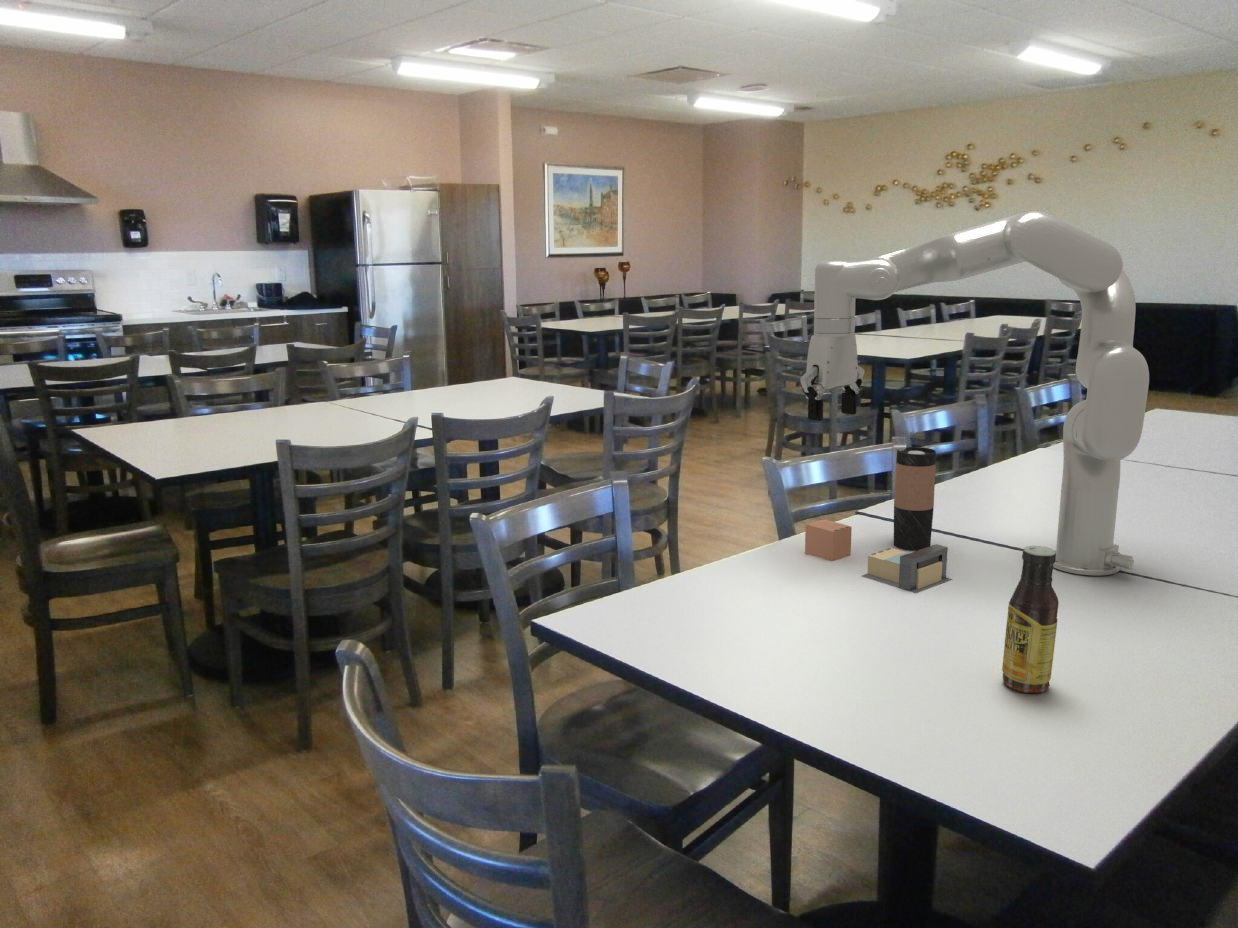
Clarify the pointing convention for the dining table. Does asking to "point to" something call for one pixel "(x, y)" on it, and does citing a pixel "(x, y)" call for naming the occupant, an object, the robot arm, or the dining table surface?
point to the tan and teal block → (889, 564)
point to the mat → (898, 583)
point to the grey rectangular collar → (920, 564)
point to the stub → (828, 539)
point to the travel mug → (914, 498)
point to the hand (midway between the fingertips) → (832, 416)
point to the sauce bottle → (1031, 624)
